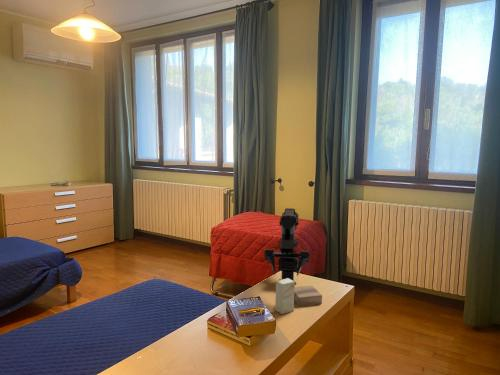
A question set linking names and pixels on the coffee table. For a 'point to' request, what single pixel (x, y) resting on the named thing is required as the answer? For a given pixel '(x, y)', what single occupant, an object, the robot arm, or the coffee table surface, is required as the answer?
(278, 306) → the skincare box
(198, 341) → the coffee table surface
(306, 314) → the coffee table surface
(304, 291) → the grey square block
